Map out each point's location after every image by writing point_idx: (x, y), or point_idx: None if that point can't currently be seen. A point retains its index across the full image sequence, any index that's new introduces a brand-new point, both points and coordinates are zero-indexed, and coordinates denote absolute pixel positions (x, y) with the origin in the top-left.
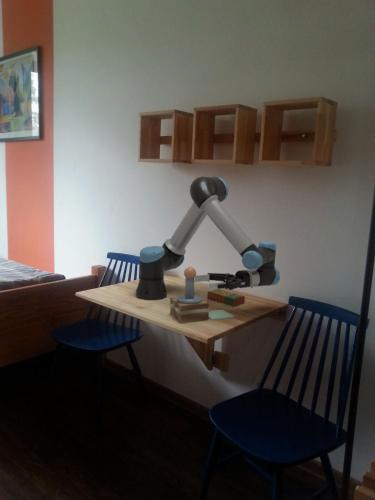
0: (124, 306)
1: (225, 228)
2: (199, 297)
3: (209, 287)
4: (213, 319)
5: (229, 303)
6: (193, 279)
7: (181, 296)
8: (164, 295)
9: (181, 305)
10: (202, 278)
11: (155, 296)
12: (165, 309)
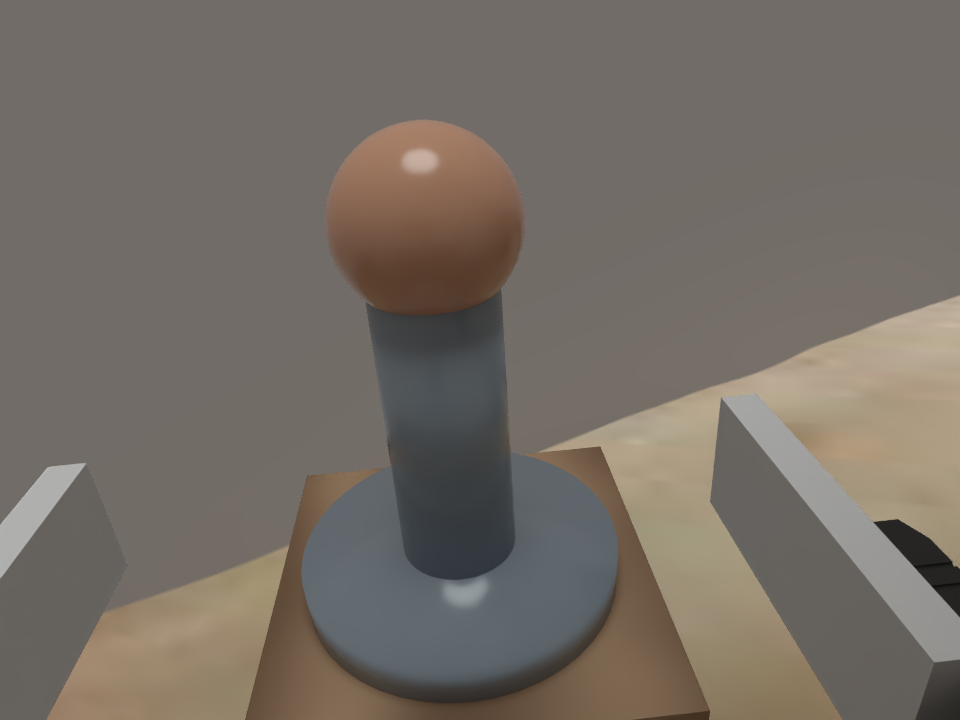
0: (790, 382)
1: None
2: (433, 646)
3: (102, 534)
4: None
5: None
6: (372, 325)
7: (535, 484)
8: None
9: (327, 478)
10: (786, 559)
11: None
12: (744, 565)
